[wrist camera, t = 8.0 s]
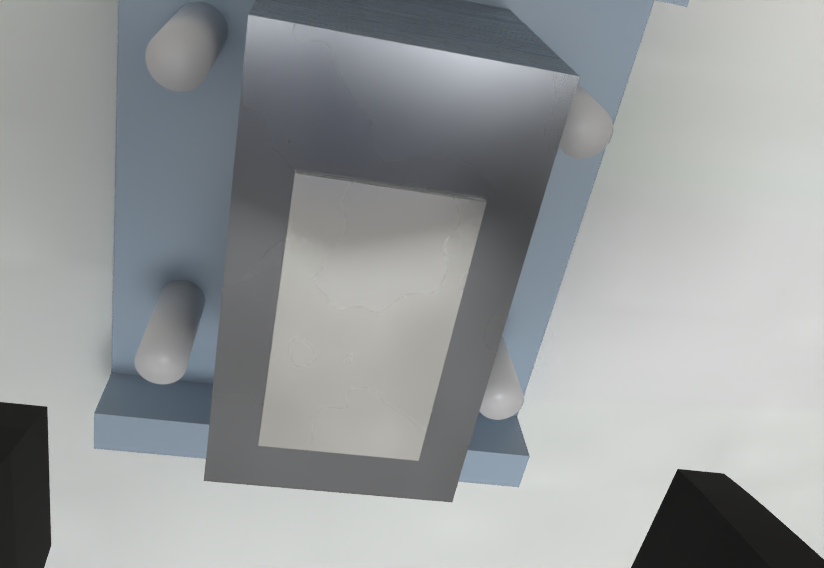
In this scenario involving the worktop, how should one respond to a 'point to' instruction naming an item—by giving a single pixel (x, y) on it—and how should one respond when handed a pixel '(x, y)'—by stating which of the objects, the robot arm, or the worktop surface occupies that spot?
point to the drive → (376, 238)
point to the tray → (210, 205)
